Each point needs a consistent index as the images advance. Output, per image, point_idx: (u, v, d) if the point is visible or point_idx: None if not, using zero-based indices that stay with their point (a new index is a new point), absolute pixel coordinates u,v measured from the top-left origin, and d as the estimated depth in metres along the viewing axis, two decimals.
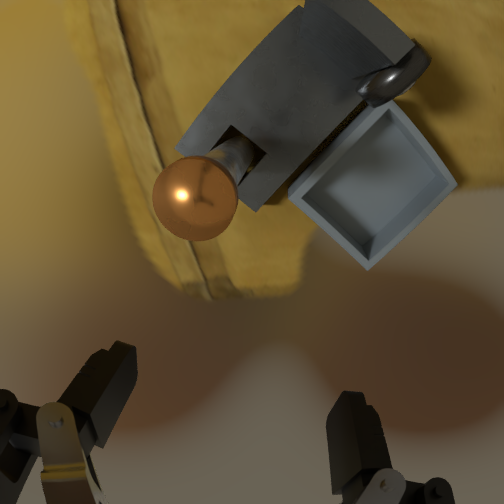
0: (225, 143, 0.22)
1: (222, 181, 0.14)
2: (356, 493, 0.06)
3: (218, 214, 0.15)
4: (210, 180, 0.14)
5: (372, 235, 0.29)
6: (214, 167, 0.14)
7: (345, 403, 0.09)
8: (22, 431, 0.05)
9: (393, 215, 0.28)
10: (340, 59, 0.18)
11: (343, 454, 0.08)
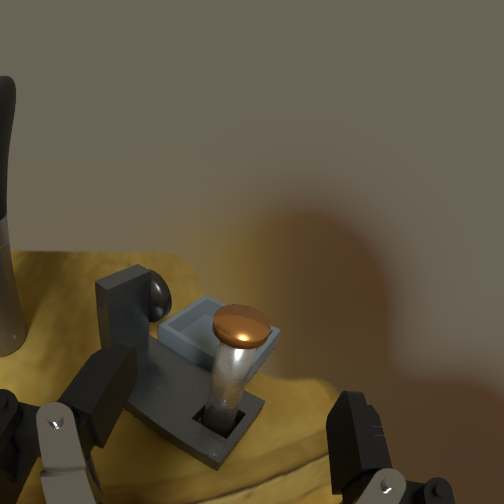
0: (207, 401, 0.25)
1: (225, 308, 0.23)
2: (356, 493, 0.06)
3: (247, 310, 0.23)
4: (226, 312, 0.23)
5: None
6: (217, 310, 0.23)
7: (345, 403, 0.09)
8: (22, 431, 0.05)
9: None
10: (137, 338, 0.31)
11: (343, 454, 0.08)
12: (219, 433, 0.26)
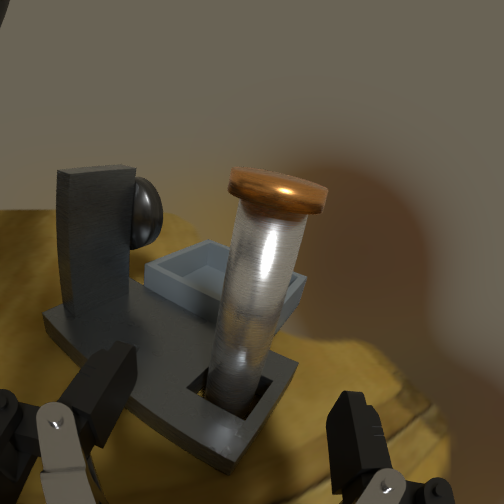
0: (213, 353, 0.16)
1: (249, 168, 0.14)
2: (356, 493, 0.06)
3: (284, 175, 0.14)
4: (251, 169, 0.13)
5: None
6: (237, 167, 0.13)
7: (345, 403, 0.09)
8: (22, 431, 0.05)
9: None
10: (112, 272, 0.22)
11: (342, 454, 0.08)
12: (231, 413, 0.16)
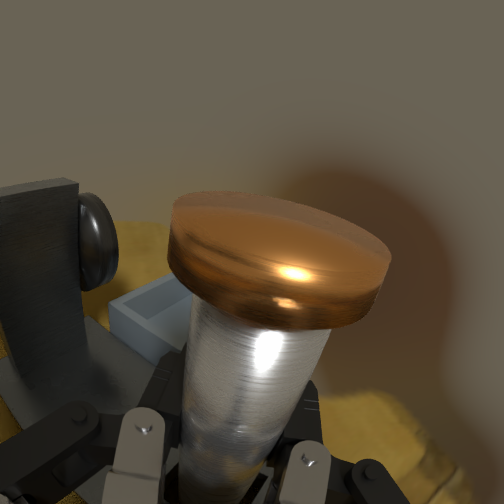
0: (179, 467, 0.09)
1: (222, 194, 0.07)
2: (281, 464, 0.07)
3: (292, 207, 0.07)
4: (223, 199, 0.06)
5: None
6: (194, 194, 0.06)
7: None
8: (94, 448, 0.06)
9: None
10: (59, 321, 0.15)
11: None
12: None
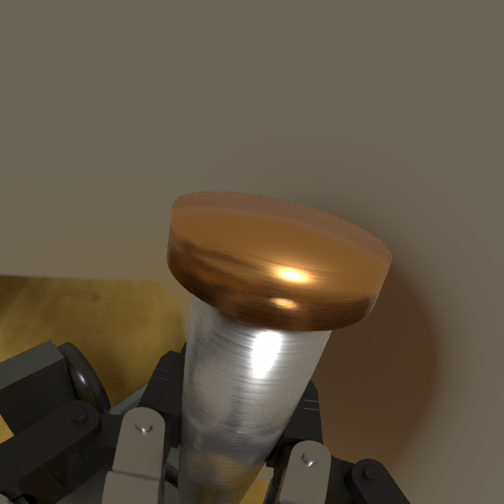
0: (179, 468, 0.09)
1: (222, 194, 0.07)
2: (281, 464, 0.07)
3: (292, 207, 0.07)
4: (223, 199, 0.06)
5: None
6: (193, 194, 0.06)
7: None
8: (94, 448, 0.06)
9: None
10: None
11: None
12: None
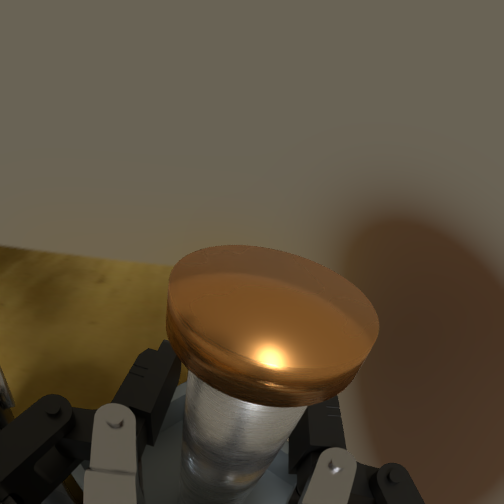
0: (180, 482, 0.09)
1: (218, 252, 0.07)
2: (306, 471, 0.07)
3: (287, 263, 0.07)
4: (219, 262, 0.07)
5: None
6: (190, 256, 0.07)
7: None
8: (70, 440, 0.06)
9: None
10: None
11: (298, 432, 0.09)
12: None
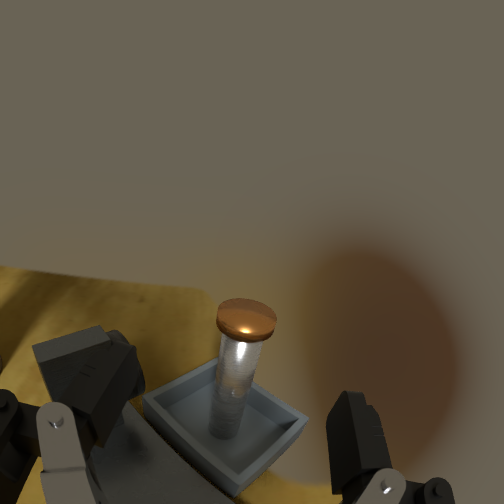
0: (212, 401, 0.24)
1: (229, 301, 0.23)
2: (356, 493, 0.06)
3: (251, 304, 0.23)
4: (230, 305, 0.22)
5: (277, 426, 0.28)
6: (221, 304, 0.22)
7: (345, 403, 0.09)
8: (22, 431, 0.05)
9: (255, 411, 0.30)
10: None
11: (343, 454, 0.08)
12: (226, 435, 0.25)
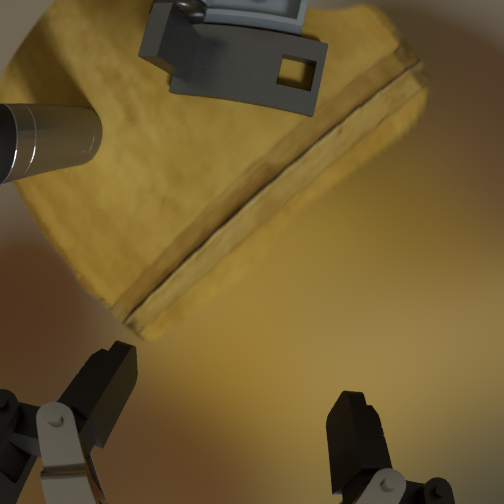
0: None
1: None
2: (356, 493, 0.06)
3: None
4: None
5: None
6: None
7: (345, 403, 0.09)
8: (22, 431, 0.05)
9: None
10: (191, 43, 0.27)
11: (343, 454, 0.08)
12: None
